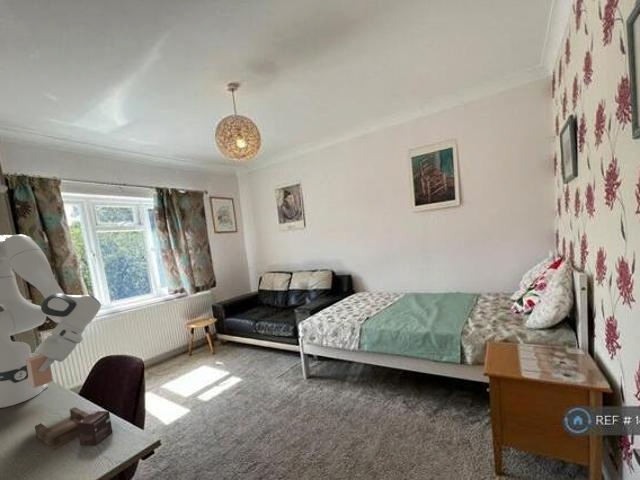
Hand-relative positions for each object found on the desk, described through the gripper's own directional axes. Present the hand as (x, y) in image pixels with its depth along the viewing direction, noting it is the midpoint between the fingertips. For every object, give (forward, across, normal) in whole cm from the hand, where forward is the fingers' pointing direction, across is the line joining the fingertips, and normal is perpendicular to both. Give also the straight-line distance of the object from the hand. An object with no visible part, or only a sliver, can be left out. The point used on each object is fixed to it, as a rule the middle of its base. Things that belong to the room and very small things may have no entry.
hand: (36, 369), depth 108 cm
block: (+3, 0, +4) cm, 5 cm away
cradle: (+13, +19, +13) cm, 27 cm away
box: (+11, +35, +15) cm, 40 cm away
